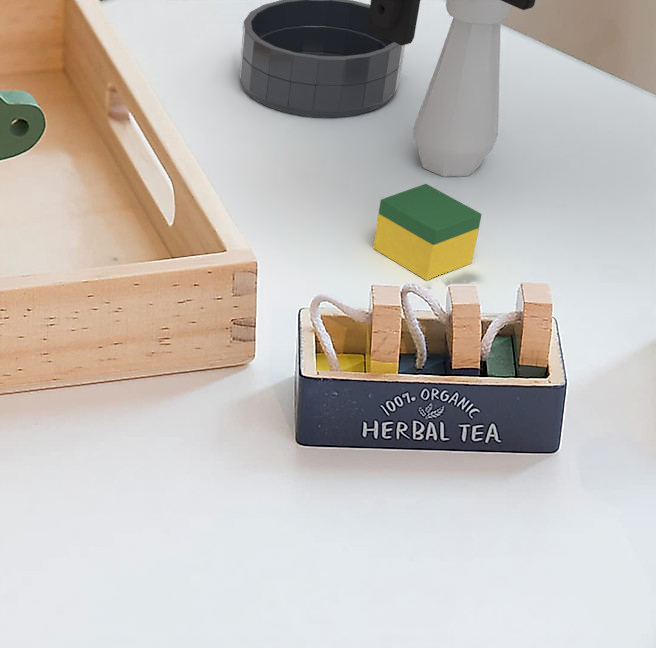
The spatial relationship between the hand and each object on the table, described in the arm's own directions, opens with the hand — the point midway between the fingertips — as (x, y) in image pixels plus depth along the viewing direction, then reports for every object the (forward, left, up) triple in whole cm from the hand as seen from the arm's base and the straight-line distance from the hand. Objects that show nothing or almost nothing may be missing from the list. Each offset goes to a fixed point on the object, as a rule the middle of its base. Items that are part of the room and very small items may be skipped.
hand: (451, 19), depth 89 cm
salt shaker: (-11, -8, -16) cm, 21 cm away
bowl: (-12, -23, -15) cm, 31 cm away
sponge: (0, +1, -15) cm, 15 cm away
